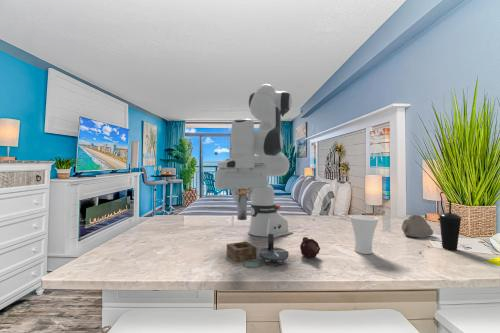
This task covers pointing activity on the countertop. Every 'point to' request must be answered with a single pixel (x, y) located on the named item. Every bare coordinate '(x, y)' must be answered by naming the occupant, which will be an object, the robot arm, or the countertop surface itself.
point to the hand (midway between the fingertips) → (242, 200)
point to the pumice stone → (416, 227)
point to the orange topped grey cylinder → (242, 204)
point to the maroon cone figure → (309, 247)
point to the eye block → (241, 251)
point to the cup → (363, 232)
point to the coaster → (252, 264)
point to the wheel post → (274, 262)
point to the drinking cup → (450, 229)
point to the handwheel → (273, 251)
